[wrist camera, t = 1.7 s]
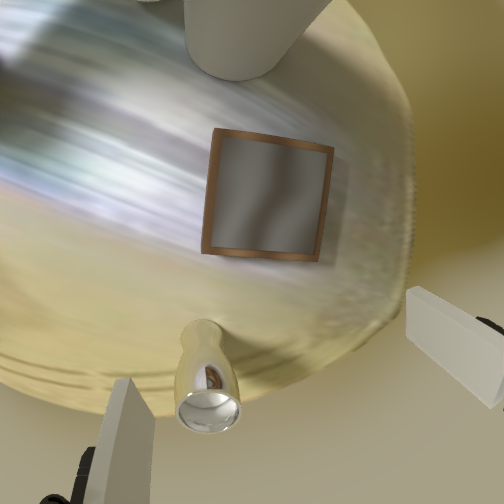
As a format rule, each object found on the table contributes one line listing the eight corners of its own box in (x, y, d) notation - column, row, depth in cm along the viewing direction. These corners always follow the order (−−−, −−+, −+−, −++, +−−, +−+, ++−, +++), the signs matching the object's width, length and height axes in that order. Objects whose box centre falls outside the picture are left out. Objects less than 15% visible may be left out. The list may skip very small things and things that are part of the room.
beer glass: (167, 335, 39) (158, 410, 25) (205, 306, 39) (212, 376, 24) (199, 366, 41) (205, 443, 27) (237, 340, 41) (258, 414, 27)
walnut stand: (200, 246, 37) (201, 254, 33) (212, 132, 33) (214, 127, 30) (307, 254, 40) (318, 262, 36) (322, 149, 36) (335, 147, 32)
